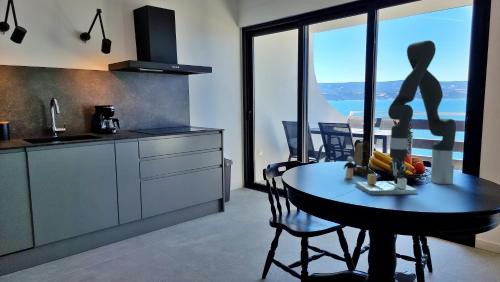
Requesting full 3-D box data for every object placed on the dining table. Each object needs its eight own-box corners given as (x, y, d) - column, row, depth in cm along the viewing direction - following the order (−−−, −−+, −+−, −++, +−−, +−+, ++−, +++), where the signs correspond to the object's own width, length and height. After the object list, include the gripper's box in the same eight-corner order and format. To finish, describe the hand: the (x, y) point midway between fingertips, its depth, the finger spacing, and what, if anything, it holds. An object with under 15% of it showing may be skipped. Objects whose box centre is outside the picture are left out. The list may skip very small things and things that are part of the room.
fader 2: (403, 187, 154) (403, 177, 154) (406, 188, 151) (407, 178, 151) (397, 187, 154) (397, 177, 154) (400, 188, 151) (400, 178, 151)
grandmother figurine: (341, 179, 181) (342, 156, 180) (343, 177, 185) (344, 155, 183) (356, 180, 178) (357, 157, 176) (357, 179, 181) (358, 156, 180)
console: (397, 184, 168) (397, 180, 168) (416, 193, 151) (417, 189, 151) (355, 185, 166) (355, 181, 166) (370, 194, 149) (370, 190, 149)
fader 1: (373, 182, 163) (373, 173, 163) (375, 184, 160) (376, 174, 160) (367, 182, 163) (367, 173, 162) (369, 184, 160) (370, 174, 159)
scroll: (342, 172, 199) (343, 139, 197) (361, 170, 205) (362, 138, 203) (360, 177, 185) (361, 142, 183) (380, 175, 192) (381, 140, 189)
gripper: (414, 149, 148) (412, 187, 150) (399, 145, 162) (397, 180, 163) (398, 149, 148) (396, 187, 150) (384, 145, 161) (382, 180, 163)
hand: (397, 183), depth 157 cm, fingers closed
